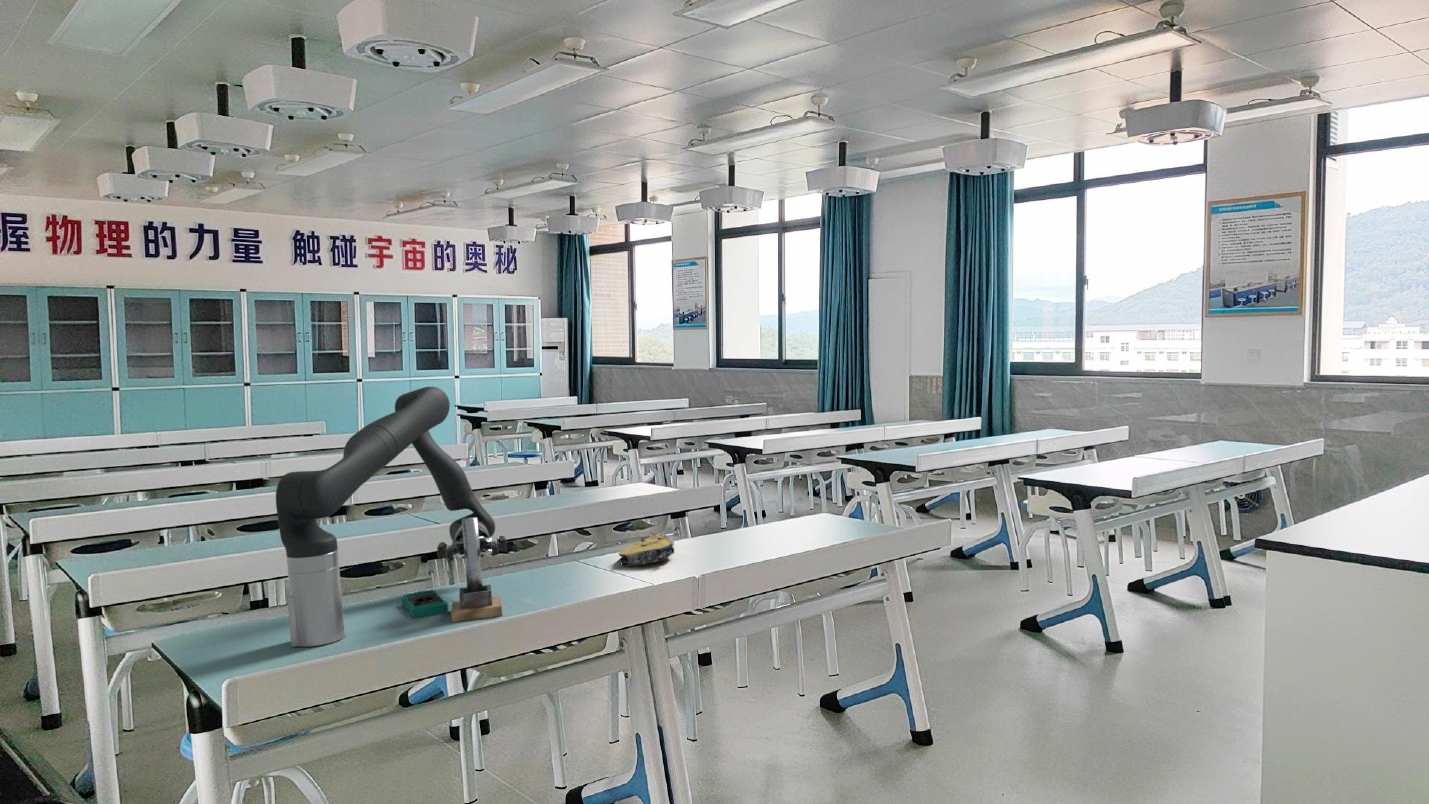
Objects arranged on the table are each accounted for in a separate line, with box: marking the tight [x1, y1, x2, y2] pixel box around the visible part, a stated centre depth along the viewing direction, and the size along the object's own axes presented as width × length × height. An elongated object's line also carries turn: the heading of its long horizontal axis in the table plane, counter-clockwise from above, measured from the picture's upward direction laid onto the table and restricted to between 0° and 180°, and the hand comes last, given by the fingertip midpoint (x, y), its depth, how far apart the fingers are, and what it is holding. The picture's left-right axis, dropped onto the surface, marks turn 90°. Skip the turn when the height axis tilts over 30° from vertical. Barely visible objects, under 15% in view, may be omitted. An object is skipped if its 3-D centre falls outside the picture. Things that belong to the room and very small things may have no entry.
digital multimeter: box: [401, 589, 449, 619], centre depth 204 cm, size 7×15×3 cm, turn 28°
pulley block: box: [612, 532, 675, 567], centre depth 243 cm, size 14×6×30 cm
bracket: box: [450, 584, 503, 623], centre depth 197 cm, size 10×10×5 cm
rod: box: [462, 517, 484, 593], centre depth 196 cm, size 3×3×18 cm
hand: (472, 553), depth 194 cm, fingers open, 8 cm apart
